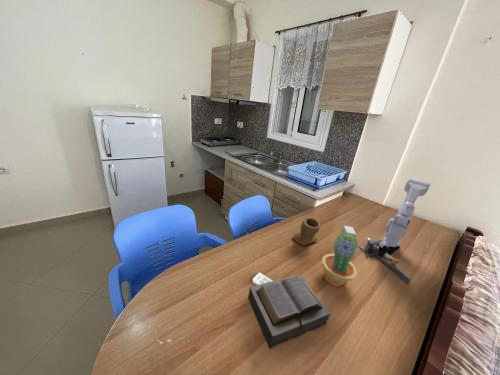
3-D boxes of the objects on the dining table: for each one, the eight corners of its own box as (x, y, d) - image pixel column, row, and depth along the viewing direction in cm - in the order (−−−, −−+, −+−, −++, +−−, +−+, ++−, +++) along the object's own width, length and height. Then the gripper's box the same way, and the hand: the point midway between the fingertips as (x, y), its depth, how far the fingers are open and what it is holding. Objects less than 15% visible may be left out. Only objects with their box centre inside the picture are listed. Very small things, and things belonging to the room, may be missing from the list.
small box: (350, 249, 117) (356, 234, 113) (340, 247, 118) (346, 232, 114) (347, 241, 125) (353, 227, 121) (338, 239, 125) (343, 224, 121)
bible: (333, 339, 70) (342, 321, 66) (258, 351, 63) (263, 331, 59) (303, 283, 90) (309, 266, 86) (245, 288, 84) (248, 270, 80)
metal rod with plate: (369, 240, 124) (371, 236, 122) (398, 264, 106) (400, 260, 105) (361, 240, 122) (363, 236, 121) (389, 265, 104) (391, 261, 103)
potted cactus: (310, 269, 98) (324, 227, 88) (334, 263, 105) (349, 222, 95) (334, 296, 86) (353, 250, 76) (358, 287, 92) (379, 243, 82)
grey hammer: (374, 246, 123) (379, 236, 121) (416, 281, 100) (423, 271, 97) (358, 247, 120) (363, 238, 117) (398, 284, 97) (404, 273, 94)
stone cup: (304, 250, 111) (311, 227, 105) (290, 237, 120) (295, 216, 114) (322, 243, 119) (329, 222, 113) (307, 232, 128) (313, 211, 122)
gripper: (396, 229, 111) (387, 249, 117) (377, 231, 106) (368, 252, 112) (409, 237, 105) (398, 257, 111) (389, 240, 100) (379, 261, 106)
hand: (384, 255), depth 111 cm, fingers open, 6 cm apart
